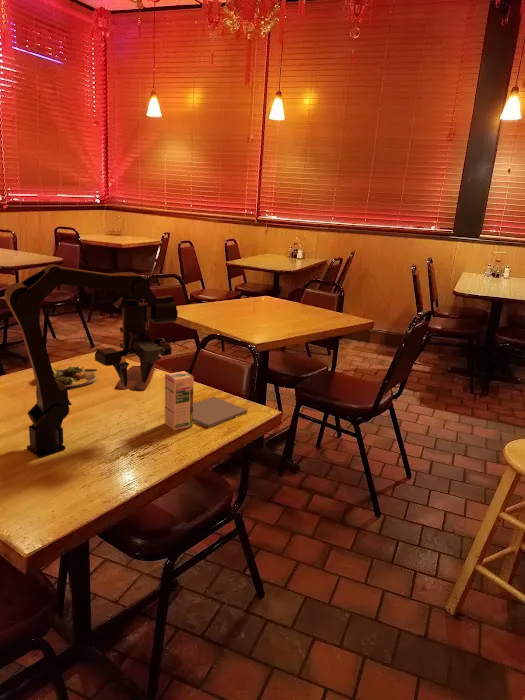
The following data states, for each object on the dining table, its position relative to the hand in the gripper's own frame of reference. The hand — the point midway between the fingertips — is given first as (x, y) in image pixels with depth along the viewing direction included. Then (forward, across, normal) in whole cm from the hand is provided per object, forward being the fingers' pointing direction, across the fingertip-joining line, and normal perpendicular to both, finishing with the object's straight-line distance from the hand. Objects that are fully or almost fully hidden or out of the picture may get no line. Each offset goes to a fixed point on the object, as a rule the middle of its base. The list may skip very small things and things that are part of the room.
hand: (134, 384), depth 130 cm
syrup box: (+13, +11, -3) cm, 18 cm away
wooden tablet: (+14, +23, +36) cm, 45 cm away
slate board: (+13, +24, -2) cm, 27 cm away
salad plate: (+14, +2, +46) cm, 48 cm away
